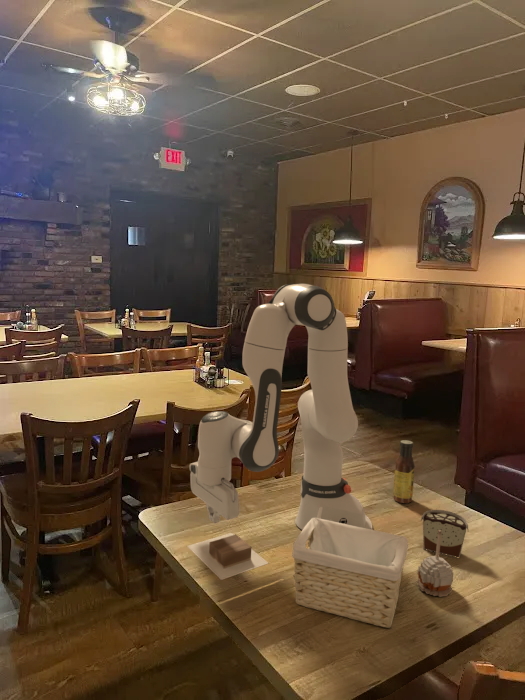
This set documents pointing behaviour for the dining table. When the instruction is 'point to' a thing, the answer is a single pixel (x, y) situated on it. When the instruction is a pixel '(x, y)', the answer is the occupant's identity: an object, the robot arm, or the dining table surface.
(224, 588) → the dining table surface
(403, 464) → the sauce bottle
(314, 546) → the storage basket
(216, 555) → the walnut block
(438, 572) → the candy apple
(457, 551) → the food container
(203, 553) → the white rectangular sheet
